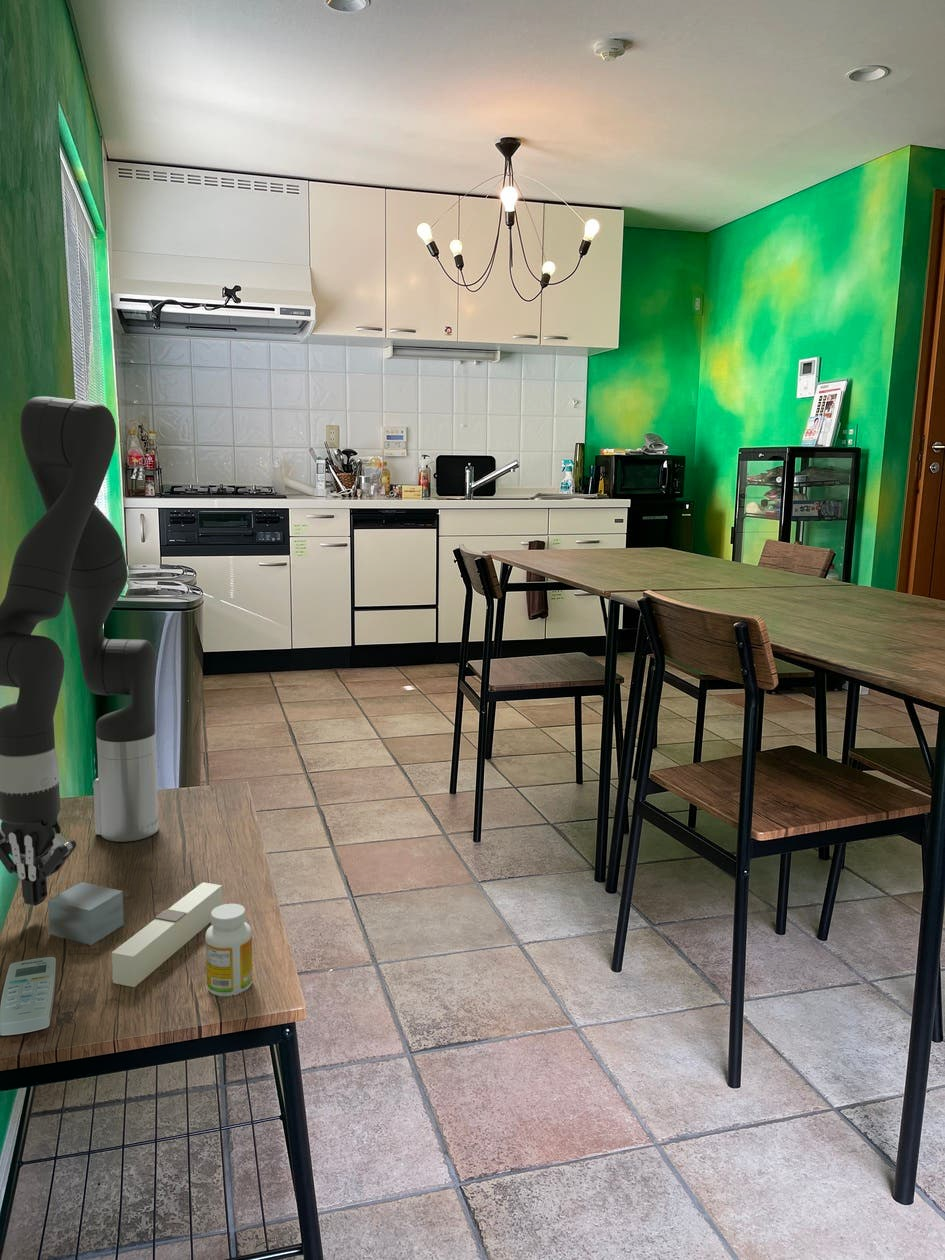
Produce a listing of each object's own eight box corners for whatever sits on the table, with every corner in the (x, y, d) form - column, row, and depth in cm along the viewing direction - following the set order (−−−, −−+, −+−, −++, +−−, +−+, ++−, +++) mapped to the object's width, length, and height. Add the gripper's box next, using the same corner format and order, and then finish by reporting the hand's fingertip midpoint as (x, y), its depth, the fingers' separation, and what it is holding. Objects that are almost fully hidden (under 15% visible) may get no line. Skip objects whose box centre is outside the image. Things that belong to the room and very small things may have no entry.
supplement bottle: (244, 968, 115) (242, 896, 113) (258, 989, 110) (257, 915, 109) (201, 980, 112) (199, 906, 110) (214, 1002, 107) (212, 926, 106)
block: (49, 935, 122) (47, 900, 121) (83, 915, 127) (81, 881, 126) (91, 946, 119) (89, 910, 119) (123, 925, 125) (122, 891, 124)
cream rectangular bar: (112, 982, 111) (111, 950, 110) (203, 908, 130) (202, 880, 129) (134, 987, 110) (133, 955, 109) (222, 911, 129) (222, 884, 128)
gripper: (89, 778, 124) (94, 898, 127) (8, 767, 127) (15, 883, 130) (49, 796, 117) (56, 923, 120) (-35, 784, 120) (-27, 907, 123)
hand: (35, 902), depth 125 cm, fingers closed
